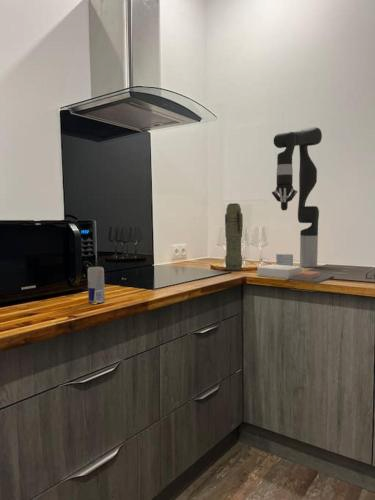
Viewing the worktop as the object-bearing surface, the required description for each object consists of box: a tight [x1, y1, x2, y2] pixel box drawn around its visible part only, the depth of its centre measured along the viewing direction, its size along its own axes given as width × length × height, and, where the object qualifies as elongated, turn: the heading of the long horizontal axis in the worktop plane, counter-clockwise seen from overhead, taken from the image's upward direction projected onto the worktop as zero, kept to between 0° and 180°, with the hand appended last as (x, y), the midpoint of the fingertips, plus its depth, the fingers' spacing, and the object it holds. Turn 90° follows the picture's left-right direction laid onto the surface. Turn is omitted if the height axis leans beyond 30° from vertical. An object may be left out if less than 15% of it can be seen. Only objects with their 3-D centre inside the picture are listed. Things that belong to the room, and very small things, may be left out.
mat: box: [287, 274, 335, 284], centre depth 171 cm, size 18×14×1 cm
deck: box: [256, 264, 303, 280], centre depth 181 cm, size 14×16×4 cm
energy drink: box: [87, 266, 106, 304], centre depth 128 cm, size 5×5×12 cm
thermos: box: [224, 202, 244, 272], centre depth 202 cm, size 9×12×35 cm
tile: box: [298, 270, 320, 279], centre depth 172 cm, size 9×6×2 cm, turn 139°
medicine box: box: [275, 253, 294, 266], centre depth 196 cm, size 8×4×9 cm, turn 84°
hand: (284, 210), depth 186 cm, fingers closed
